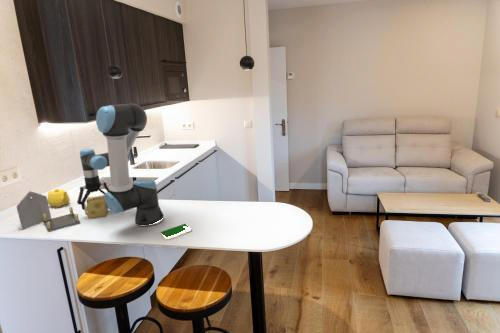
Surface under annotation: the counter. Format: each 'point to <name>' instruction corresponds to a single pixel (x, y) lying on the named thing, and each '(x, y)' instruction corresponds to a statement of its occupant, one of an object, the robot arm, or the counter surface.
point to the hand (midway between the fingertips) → (97, 211)
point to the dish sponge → (173, 230)
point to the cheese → (96, 207)
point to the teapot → (58, 198)
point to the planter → (33, 209)
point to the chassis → (61, 221)
